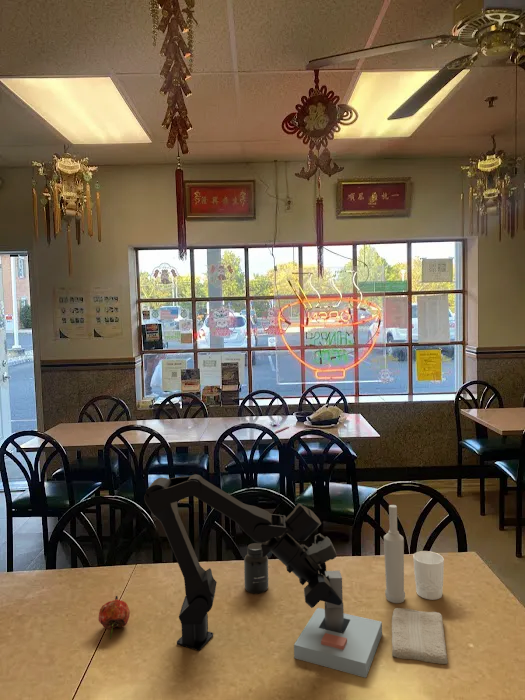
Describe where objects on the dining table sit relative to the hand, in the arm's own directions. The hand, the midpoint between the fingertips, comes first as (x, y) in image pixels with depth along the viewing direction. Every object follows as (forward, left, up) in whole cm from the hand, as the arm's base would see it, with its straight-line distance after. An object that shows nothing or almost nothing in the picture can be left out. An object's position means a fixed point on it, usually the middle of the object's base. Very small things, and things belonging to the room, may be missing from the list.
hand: (339, 599), depth 114 cm
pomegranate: (-19, +52, -9) cm, 56 cm away
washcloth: (+7, -17, -10) cm, 20 cm away
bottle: (+21, -9, -9) cm, 25 cm away
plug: (-1, +1, -7) cm, 7 cm away
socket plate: (-4, -1, -9) cm, 10 cm away
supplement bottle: (+12, +28, -9) cm, 32 cm away
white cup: (+27, -17, -9) cm, 33 cm away
